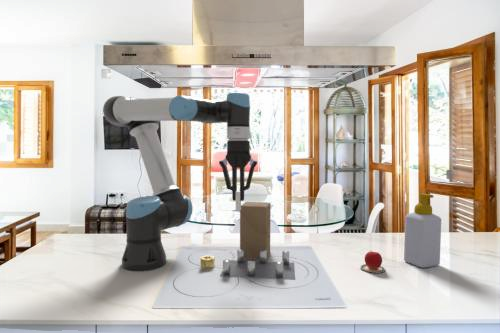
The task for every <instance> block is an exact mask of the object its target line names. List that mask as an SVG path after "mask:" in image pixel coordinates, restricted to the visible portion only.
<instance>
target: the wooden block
mask: <svg viewBox="0 0 500 333" xmlns="http://www.w3.org/2000/svg"><path fill="white" fill-rule="evenodd" d="M239 249H243V250H244V260H246V259H247V260H248V259H249V260H259V261H260V250H266V251H267V259H266V261H267V260H268V257H269V255H270V254H271V202H263V201H262V202H261V201H245V202H243V203H241V210H240V211H239Z"/></svg>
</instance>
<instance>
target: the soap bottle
mask: <svg viewBox="0 0 500 333" xmlns="http://www.w3.org/2000/svg"><path fill="white" fill-rule="evenodd" d="M429 198H430V199H432V198H433V199H434V195H433V194H429V193H423V192H422V193H419V202H418V203H417V204H415V206H414V208H413V209H414V212H410V213H408V214H406V215H405V217H404V243H403V244H404V245H403V246H404V250H403V261H404V262H405V263H408V264H410V263H411V264H410V265H414V266H415V265H416V266H415V267H418V268H421V269H424V268H426V267H427V268H432V267H437V265H438V266H439V265H440V264H441V238H442V218H441V217H440V216H439V215H437V214H434V213H433V207H432V205H430V204H429V200H428V199H429Z"/></svg>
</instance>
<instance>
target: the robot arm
mask: <svg viewBox="0 0 500 333" xmlns="http://www.w3.org/2000/svg"><path fill="white" fill-rule="evenodd" d="M250 111H251V103H250V95H249V94H248V93H246V92H242V91H241V92H238V91H237V92H229V93H227V96H226V99H224V100H212V99H211V100H210V99H206V98H199V97H193V96H190V95H176V96H174V97H158V98H157V97H156V98H154V97H153V98H151V97H150V98H137V97H130V96H129V97H128V96H124V95H115V96H112V97H109V98H108V99H107V100H106V101H105V102H104V104H103V107H102V113H103V116H104V118H105V120H106V121H107V122H109V123H110V124H111V125H113V126H117V127H123V128H128V132H129V135H130V136H131V137H134V139H135V140H136V143H137V147H138V149H139V150H138V151H139V153H140V156H141V158H142V161H143V165H144V168H145V171H146V173H147V174H146V175H147V176H148V180H149V183H150V185H151V189H152V195H146V196H139V197H136V198H133V199H131V200H129V201H128V202H127V203H126V208H125V210H126V211H125V217H126V218H125V219H126V245H125V248H124V252H123V255H122V257H121V267H122V268H123V269H125V270H127V271H134V272H135V271H136V272H138V271H140V272H142V271H150V270H154V269H158V268H161V267H163V266H165V265H166V263H167V255H166V254H167V253H166V251H165V249H164V245H163V243H162V231H164V230H169V229H172V228H177V227H180V226H182V225H184V224H186V223H188V222H189V221H190V219H191V216H192V214H193V210H194V209H193V208H194V207H193V203H192V200H191V199H190V197H188V196H187V195H185V194H183V193H182V191H181V188H180V187H178V186H176V185H175V182H174V179H173V176H172V172H171V170H170V168H169V164H168V161H167V158H166V156H165V152H164V148H163V147H162V144H161V141H160V138H159V134H158V129H159V127H160V126H159V125H160V122H161V121H162V122H169V121H171V122H175V121H176V122H177V121H178V122H199V123H200V122H201V123H202V124H211V125H212V124H219V123H221V124H222V123H226V138H227V139H228V140H227V142H226V155H225V158H223V159H222V160H219V161H218V164H219V165H220V168H222V173H223V177H224V181H225V185H226V189H227V190H229V191H231V192H232V193H231V194H232V197H231V198H232V201H233V202H234V201H235V212H240V210H241V205H242V201H244V200H245V191H247V190H249V189H250V187H251V183H252V179H253V174H254V172H255V167H256V166H257V165H258V162H259V161H257V160H255V159H253V158H252V155H251V153H250V149H251V148H250V147H251V146H250V144H251V143H250V140H249V139H251V136H250V134H251V133H250V132H251V131H250V130H251V127H250V125H251V124H250V120H251V119H250V117H251V116H250V115H251V114H250ZM228 164H229V165H230V167H231V171H232V172H231V173H232V174H231V175H232V176H231V179H230V174H229V169H228V167H227V165H228ZM248 164H249V165H250V167H249V171H248V175H247V179H246V182H245V170H246V168H245V167H247V166H248ZM238 169H239V190H238ZM231 180H232V181H231Z"/></svg>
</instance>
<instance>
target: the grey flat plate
mask: <svg viewBox="0 0 500 333" xmlns="http://www.w3.org/2000/svg"><path fill="white" fill-rule="evenodd" d="M229 260H230V275H229V276H224V275H223V270H221V273H220V274H219V277H223V278H247V279H248V278H249V279H266V280H268V279H271V280H289V281H290V280H292V281H295V280H296V270H295V269H296V268H295V262H290V261H289V265H283V277H282V278H277V277H276V262H277V261H266V264H260V260H259V261H257V260H254V261H255V276H254V277H249V276H248V261H249V260H244V263H242V264H239V263H237V259H236V260H234V259H233V260H231V259H229Z"/></svg>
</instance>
